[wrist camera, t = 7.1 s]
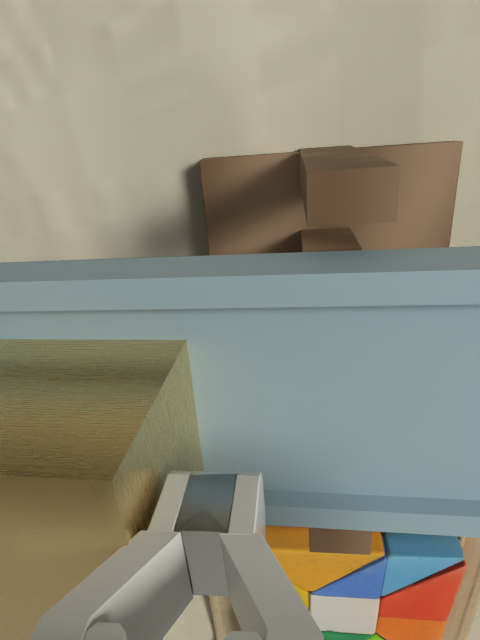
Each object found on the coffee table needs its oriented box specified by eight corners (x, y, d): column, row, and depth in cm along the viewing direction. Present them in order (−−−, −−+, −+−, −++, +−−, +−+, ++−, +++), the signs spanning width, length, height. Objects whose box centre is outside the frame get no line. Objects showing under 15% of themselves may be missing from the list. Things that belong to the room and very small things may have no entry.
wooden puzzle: (219, 641, 34) (211, 695, 30) (191, 452, 26) (176, 499, 23) (454, 659, 31) (473, 720, 28) (500, 459, 24) (533, 511, 20)
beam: (856, 233, 9) (1101, 282, 7) (717, 500, 13) (838, 611, 10) (-35, 263, 13) (-134, 305, 10) (37, 469, 16) (-22, 546, 13)
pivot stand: (454, 137, 17) (605, 152, 9) (422, 397, 22) (499, 561, 14) (203, 155, 18) (132, 183, 10) (227, 397, 23) (193, 546, 15)
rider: (186, 339, 11) (111, 481, 7) (205, 481, 13) (156, 661, 9) (-17, 339, 12) (-201, 465, 8) (30, 472, 14) (-94, 632, 10)
